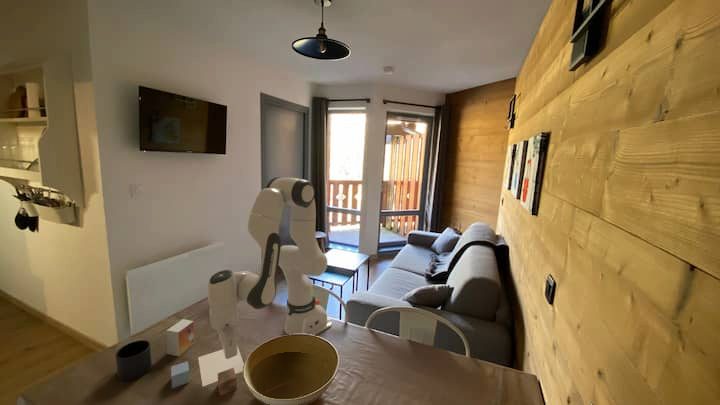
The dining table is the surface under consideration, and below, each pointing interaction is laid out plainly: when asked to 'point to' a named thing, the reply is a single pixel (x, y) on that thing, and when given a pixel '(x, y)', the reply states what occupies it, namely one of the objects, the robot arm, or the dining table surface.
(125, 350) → the mug
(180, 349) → the small box
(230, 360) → the cream flat square panel
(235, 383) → the block
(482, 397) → the dining table surface
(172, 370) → the cube
